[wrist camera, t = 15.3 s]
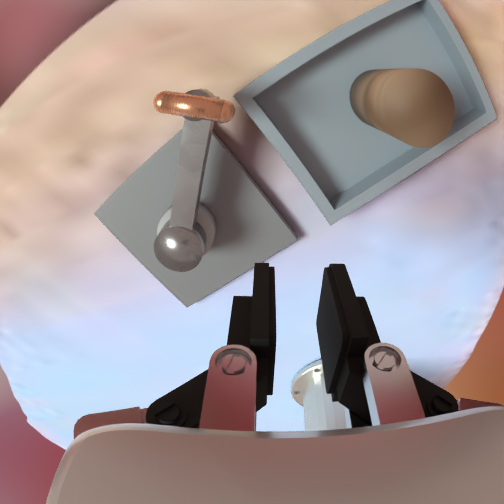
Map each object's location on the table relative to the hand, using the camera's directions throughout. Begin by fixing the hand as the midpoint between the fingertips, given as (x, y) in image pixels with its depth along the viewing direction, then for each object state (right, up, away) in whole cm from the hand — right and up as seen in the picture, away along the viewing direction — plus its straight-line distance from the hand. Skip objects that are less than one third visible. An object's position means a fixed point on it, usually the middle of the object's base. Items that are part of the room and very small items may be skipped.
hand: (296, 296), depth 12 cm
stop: (+9, +14, +10) cm, 19 cm away
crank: (-6, +7, +12) cm, 15 cm away
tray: (+8, +15, +11) cm, 20 cm away
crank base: (-7, +5, +18) cm, 20 cm away
